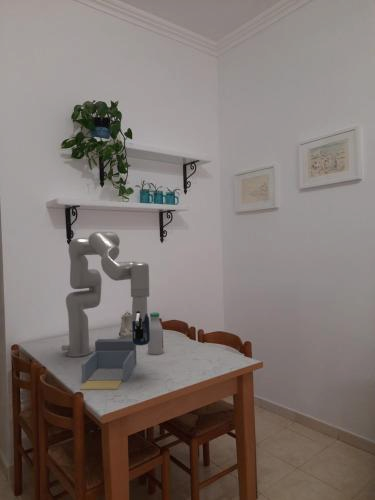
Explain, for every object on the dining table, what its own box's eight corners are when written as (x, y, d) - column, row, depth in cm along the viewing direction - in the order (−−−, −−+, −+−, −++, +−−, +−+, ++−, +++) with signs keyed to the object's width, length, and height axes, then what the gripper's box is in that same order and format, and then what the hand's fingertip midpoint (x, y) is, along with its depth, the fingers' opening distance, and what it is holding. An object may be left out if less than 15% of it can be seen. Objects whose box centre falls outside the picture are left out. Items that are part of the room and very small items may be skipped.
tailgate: (87, 383, 141) (80, 392, 133) (87, 379, 141) (80, 388, 133) (122, 382, 141) (117, 391, 132) (122, 379, 141) (117, 388, 132)
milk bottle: (161, 355, 175) (159, 314, 174) (146, 354, 176) (144, 314, 176) (165, 350, 182) (164, 311, 182) (150, 350, 184) (149, 311, 183)
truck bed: (82, 384, 140) (81, 354, 140) (98, 365, 162) (98, 339, 162) (126, 384, 139) (125, 353, 139) (136, 364, 162) (135, 338, 161)
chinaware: (133, 348, 193) (135, 318, 192) (106, 343, 198) (108, 314, 197) (154, 335, 219) (156, 309, 218) (130, 331, 224) (132, 305, 224)
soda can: (139, 340, 151) (139, 312, 151) (153, 342, 147) (152, 313, 147) (129, 344, 145) (128, 315, 145) (142, 346, 141) (142, 316, 141)
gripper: (135, 290, 154) (135, 330, 155) (126, 296, 137) (127, 342, 138) (152, 289, 154) (153, 330, 155) (145, 296, 137) (146, 342, 137)
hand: (141, 335), depth 146 cm, fingers closed on soda can, 6 cm apart
